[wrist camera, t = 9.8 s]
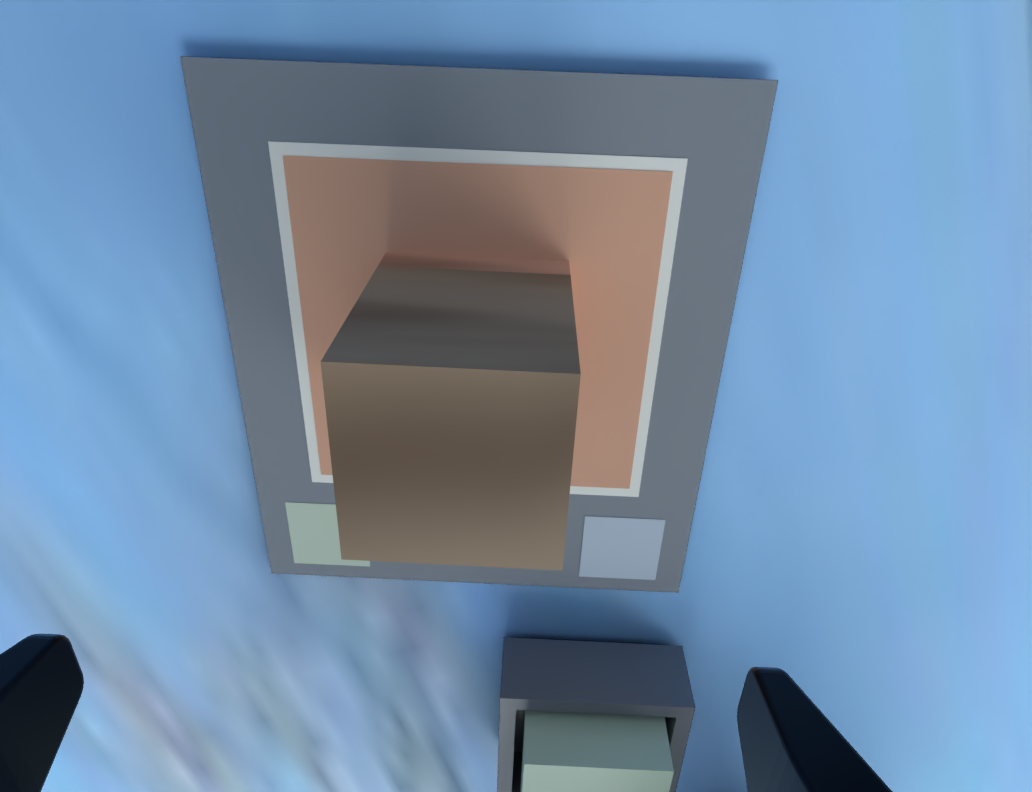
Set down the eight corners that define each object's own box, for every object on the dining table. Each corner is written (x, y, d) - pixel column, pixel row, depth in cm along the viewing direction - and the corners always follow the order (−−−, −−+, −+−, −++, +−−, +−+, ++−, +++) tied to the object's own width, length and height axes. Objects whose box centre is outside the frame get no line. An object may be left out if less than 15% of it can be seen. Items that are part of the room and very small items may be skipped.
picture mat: (777, 79, 16) (778, 80, 16) (677, 590, 23) (678, 593, 23) (182, 56, 16) (179, 56, 16) (272, 571, 23) (271, 574, 23)
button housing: (682, 645, 24) (695, 707, 22) (658, 757, 27) (668, 821, 25) (503, 637, 24) (500, 698, 22) (499, 749, 27) (496, 812, 25)
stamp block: (557, 417, 20) (562, 570, 15) (394, 410, 20) (341, 559, 15) (569, 260, 18) (580, 374, 12) (385, 252, 18) (320, 361, 12)
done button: (664, 712, 23) (673, 771, 21) (646, 795, 25) (654, 855, 23) (525, 705, 23) (524, 764, 21) (520, 789, 25) (518, 848, 23)
